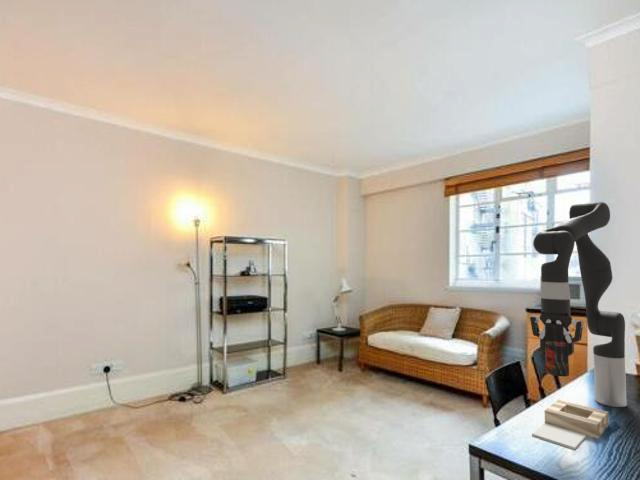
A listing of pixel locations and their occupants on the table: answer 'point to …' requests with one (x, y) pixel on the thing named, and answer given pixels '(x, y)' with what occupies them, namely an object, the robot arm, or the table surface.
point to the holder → (577, 418)
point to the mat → (559, 436)
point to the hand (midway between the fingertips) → (556, 352)
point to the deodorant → (556, 350)
